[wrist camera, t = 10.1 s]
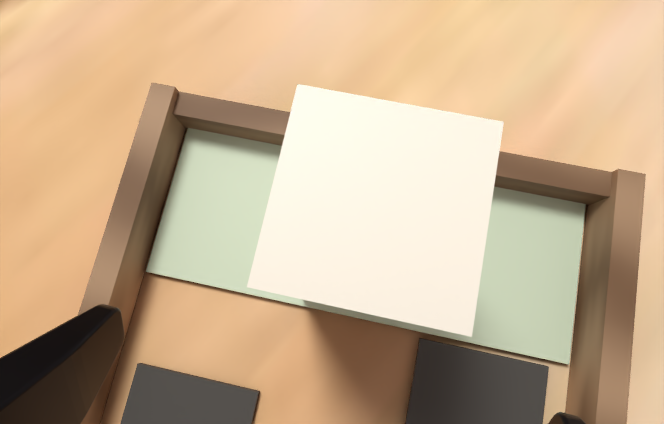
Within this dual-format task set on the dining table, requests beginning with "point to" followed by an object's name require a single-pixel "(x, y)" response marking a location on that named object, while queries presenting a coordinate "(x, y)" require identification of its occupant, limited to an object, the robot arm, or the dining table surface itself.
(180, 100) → the brown flat frame
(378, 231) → the pale cream block
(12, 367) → the robot arm
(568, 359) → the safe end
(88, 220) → the dining table surface
